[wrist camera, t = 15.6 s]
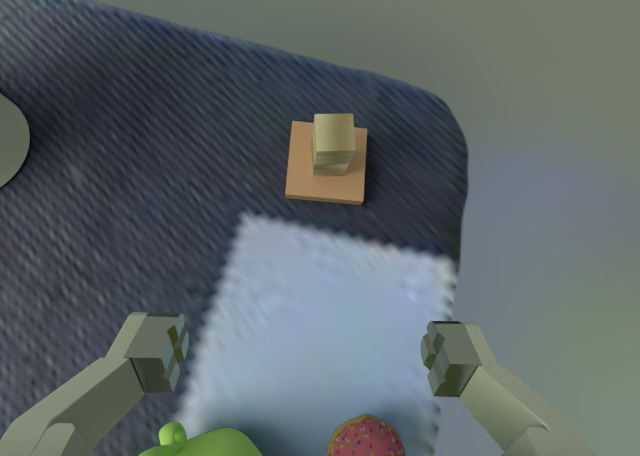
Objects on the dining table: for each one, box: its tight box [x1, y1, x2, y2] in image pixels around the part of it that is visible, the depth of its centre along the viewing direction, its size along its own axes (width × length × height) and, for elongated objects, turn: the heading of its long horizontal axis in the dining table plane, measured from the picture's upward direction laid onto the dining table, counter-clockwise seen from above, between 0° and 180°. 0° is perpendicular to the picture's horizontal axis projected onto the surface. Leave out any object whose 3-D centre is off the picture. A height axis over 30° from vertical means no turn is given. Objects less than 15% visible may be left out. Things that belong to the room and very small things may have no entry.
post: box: [311, 114, 355, 177], centre depth 39 cm, size 4×4×9 cm
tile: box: [285, 121, 367, 205], centre depth 45 cm, size 10×10×2 cm
